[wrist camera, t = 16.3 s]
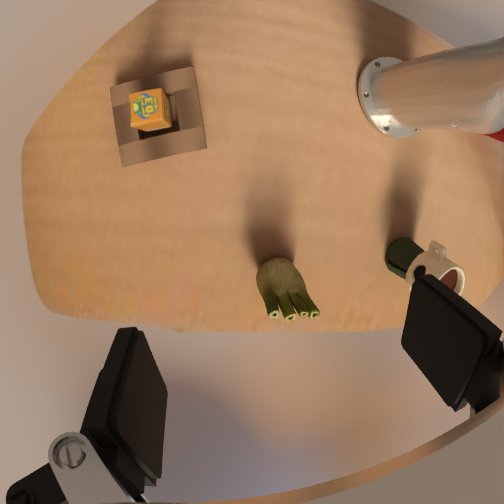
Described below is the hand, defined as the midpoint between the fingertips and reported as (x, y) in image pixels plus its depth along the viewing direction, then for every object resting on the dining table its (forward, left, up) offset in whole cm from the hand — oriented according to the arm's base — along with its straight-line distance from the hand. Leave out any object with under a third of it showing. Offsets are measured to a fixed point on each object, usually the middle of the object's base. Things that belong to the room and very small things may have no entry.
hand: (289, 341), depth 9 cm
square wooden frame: (+7, -11, -30) cm, 33 cm away
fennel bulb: (-4, +12, -30) cm, 33 cm away
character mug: (-25, +14, -30) cm, 42 cm away
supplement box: (+7, -11, -29) cm, 32 cm away
